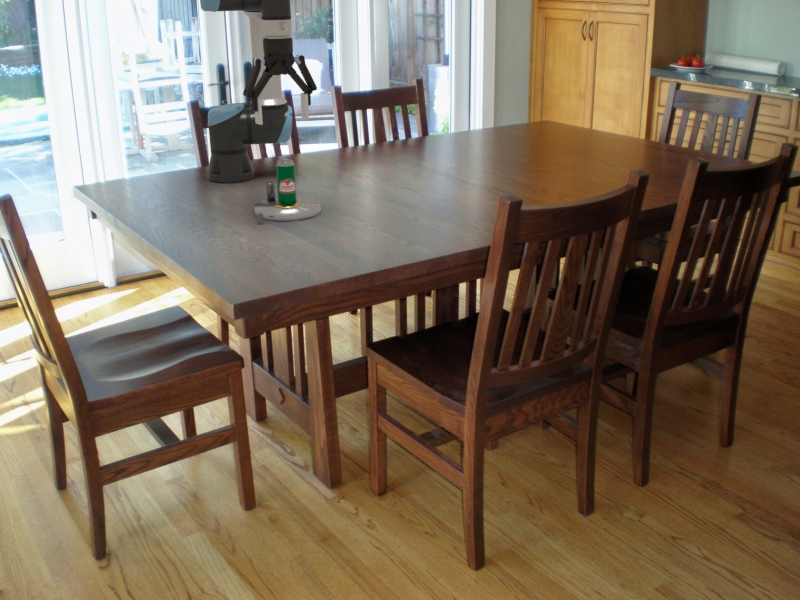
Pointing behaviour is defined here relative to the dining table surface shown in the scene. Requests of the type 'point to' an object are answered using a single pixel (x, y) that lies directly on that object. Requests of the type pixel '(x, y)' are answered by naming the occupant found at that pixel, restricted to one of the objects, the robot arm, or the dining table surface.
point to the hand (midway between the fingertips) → (282, 121)
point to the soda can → (286, 182)
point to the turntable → (286, 207)
